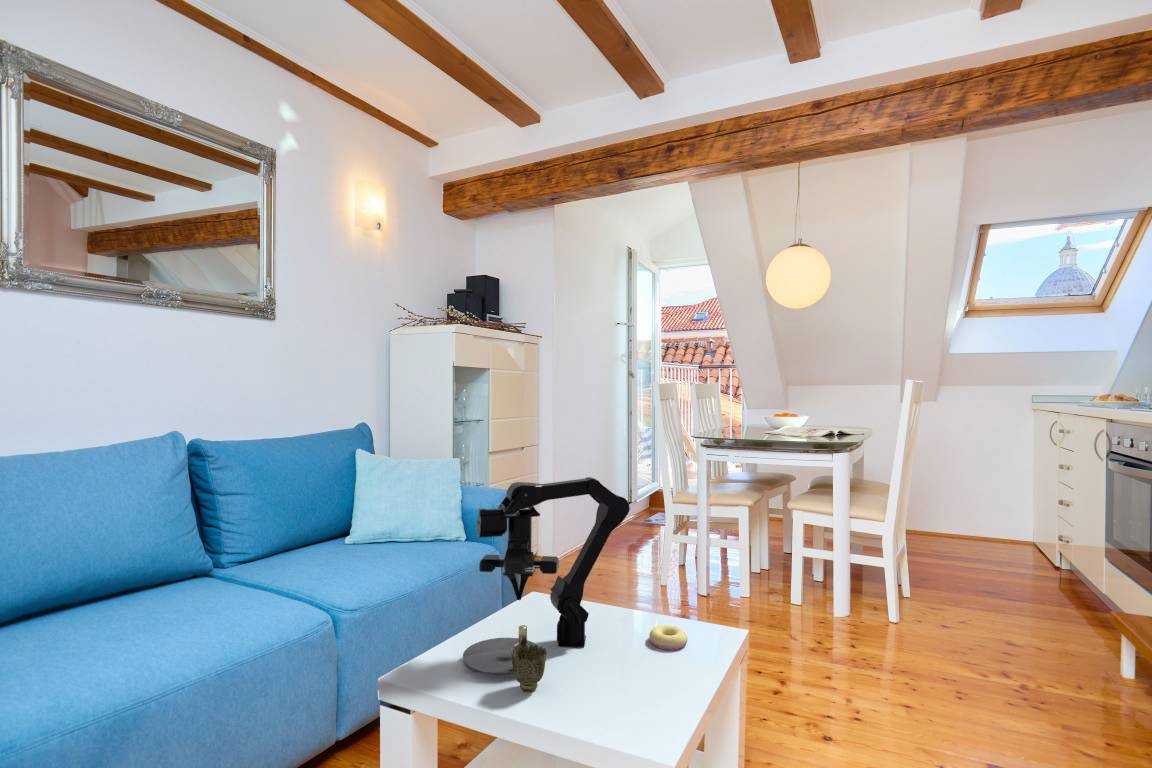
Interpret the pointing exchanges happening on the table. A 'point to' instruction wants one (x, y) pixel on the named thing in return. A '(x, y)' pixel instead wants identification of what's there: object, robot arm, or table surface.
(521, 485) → the robot arm
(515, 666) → the cup
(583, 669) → the table surface
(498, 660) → the turntable
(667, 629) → the donut
